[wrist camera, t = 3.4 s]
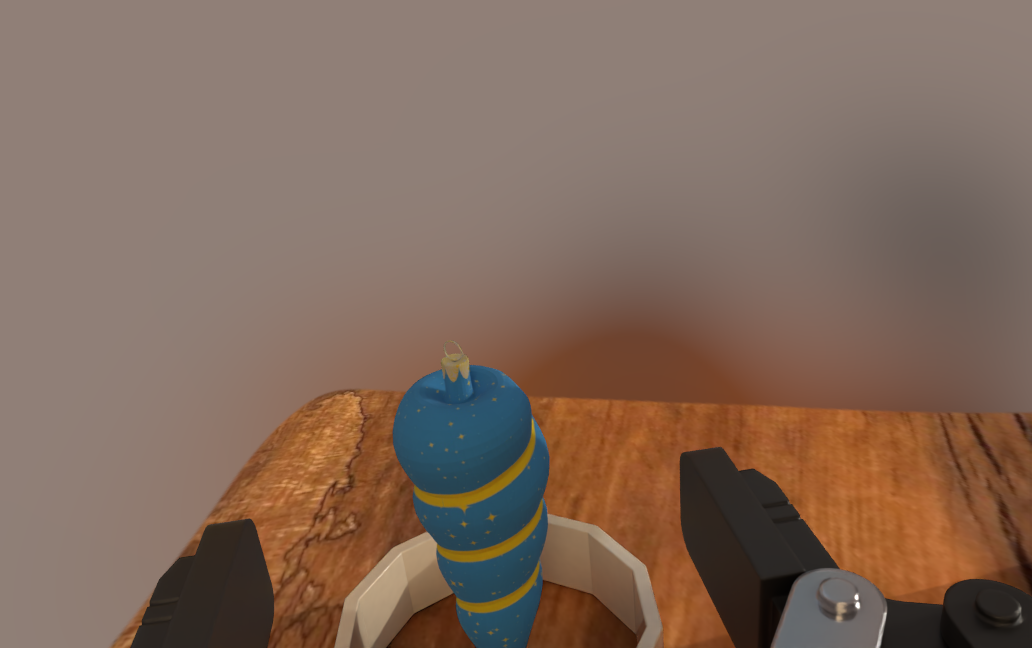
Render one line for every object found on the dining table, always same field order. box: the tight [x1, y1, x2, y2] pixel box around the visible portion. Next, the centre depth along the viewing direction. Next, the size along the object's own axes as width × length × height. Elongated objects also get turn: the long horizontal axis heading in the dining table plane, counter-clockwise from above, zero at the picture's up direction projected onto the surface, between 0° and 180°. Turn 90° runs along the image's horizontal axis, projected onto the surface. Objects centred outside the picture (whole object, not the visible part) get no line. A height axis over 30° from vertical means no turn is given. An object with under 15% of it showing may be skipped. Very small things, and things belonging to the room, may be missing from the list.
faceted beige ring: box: [334, 514, 664, 648], centre depth 31 cm, size 12×12×4 cm
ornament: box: [393, 341, 549, 648], centre depth 29 cm, size 5×5×15 cm
